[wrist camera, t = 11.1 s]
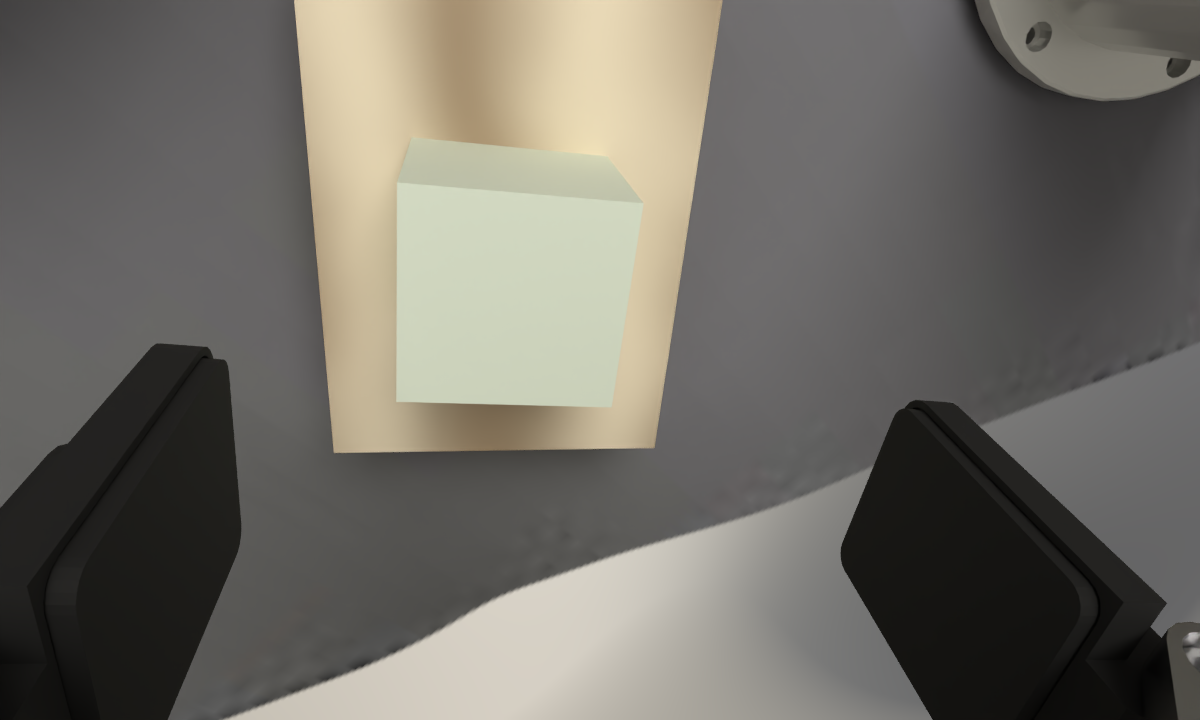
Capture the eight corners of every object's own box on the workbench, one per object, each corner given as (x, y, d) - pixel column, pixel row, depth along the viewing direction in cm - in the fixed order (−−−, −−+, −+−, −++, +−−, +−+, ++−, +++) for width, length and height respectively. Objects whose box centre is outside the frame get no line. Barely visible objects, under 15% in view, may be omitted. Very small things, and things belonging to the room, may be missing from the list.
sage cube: (607, 156, 19) (643, 203, 15) (584, 328, 21) (611, 407, 18) (411, 137, 18) (397, 182, 14) (409, 319, 20) (396, 401, 17)
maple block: (675, -34, 22) (727, -36, 18) (625, 374, 28) (654, 447, 24) (325, -74, 20) (286, -87, 16) (355, 373, 26) (334, 452, 22)
